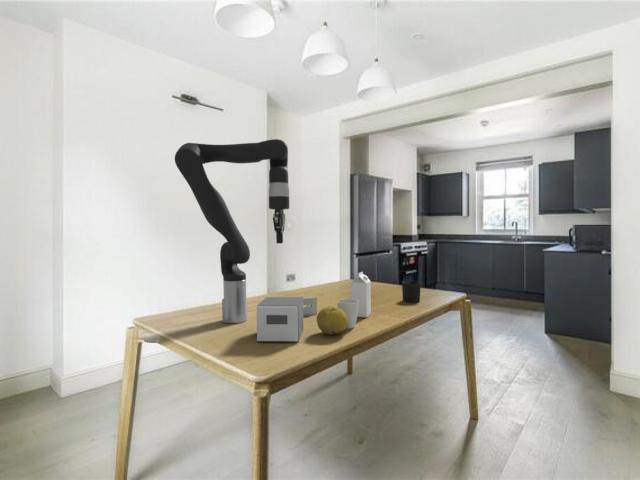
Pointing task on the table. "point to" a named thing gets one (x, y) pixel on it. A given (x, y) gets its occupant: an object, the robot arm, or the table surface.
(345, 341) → the table surface
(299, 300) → the grey open box
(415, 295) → the pen holder
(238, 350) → the table surface
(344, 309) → the cup
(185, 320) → the table surface
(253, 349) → the table surface
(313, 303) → the cassette
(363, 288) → the milk carton
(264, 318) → the grey flat-panelled piece
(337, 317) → the fruit
